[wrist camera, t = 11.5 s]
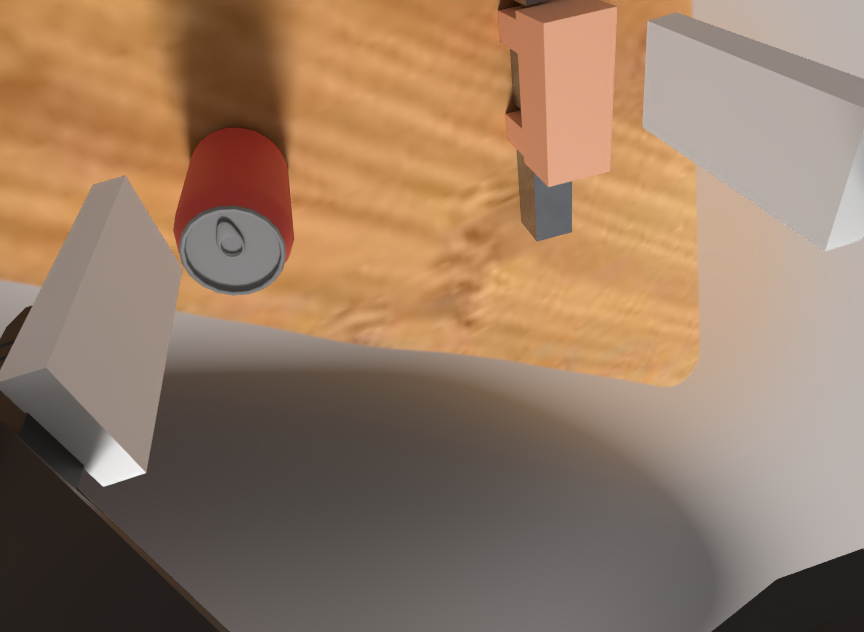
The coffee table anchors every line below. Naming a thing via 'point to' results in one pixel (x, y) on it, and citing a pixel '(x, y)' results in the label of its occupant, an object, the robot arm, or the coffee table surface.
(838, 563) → the robot arm
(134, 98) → the coffee table surface
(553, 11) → the salmon pink bridge block
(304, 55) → the coffee table surface
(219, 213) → the beer can
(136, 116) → the coffee table surface
